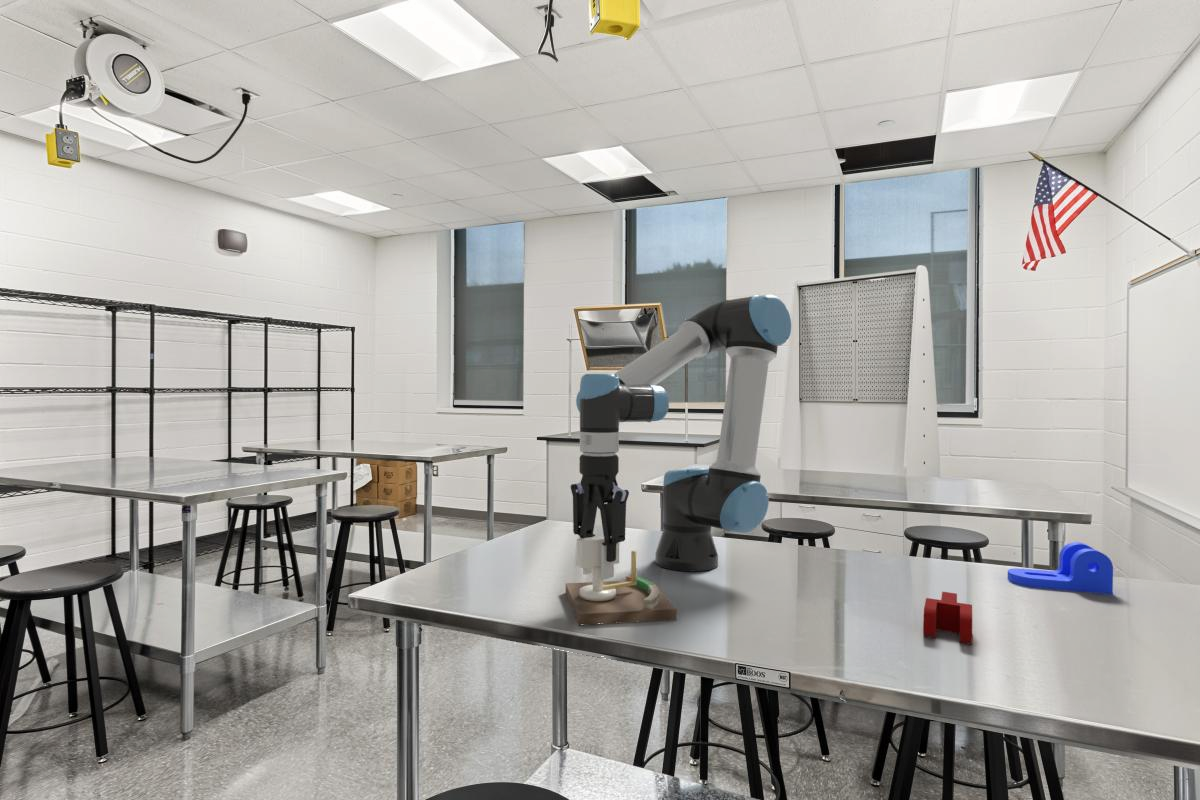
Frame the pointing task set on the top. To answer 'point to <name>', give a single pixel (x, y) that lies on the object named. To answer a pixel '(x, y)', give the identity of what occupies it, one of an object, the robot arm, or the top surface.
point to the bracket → (1071, 572)
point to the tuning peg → (599, 569)
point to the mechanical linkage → (948, 617)
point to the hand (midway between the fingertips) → (598, 574)
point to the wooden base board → (622, 604)
